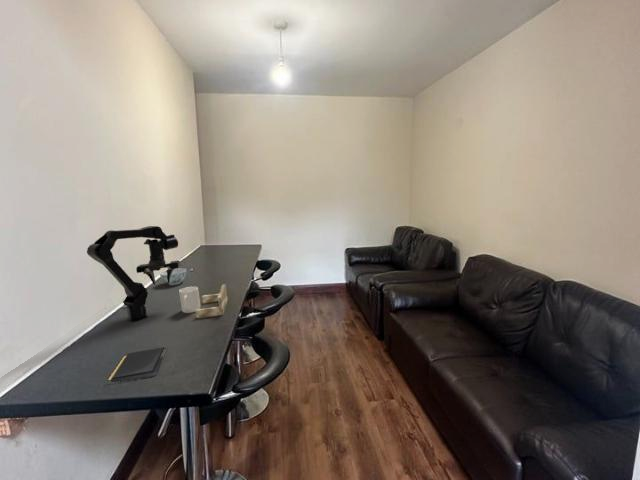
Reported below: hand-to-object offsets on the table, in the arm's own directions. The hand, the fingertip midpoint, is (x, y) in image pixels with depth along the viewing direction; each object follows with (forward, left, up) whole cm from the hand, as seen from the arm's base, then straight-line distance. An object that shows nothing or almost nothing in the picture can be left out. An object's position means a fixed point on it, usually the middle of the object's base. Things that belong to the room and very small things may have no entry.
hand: (161, 283), depth 163 cm
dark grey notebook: (-32, -47, -13) cm, 58 cm away
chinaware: (+24, +37, -12) cm, 46 cm away
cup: (+4, -17, -12) cm, 21 cm away
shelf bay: (+11, -23, -12) cm, 28 cm away
